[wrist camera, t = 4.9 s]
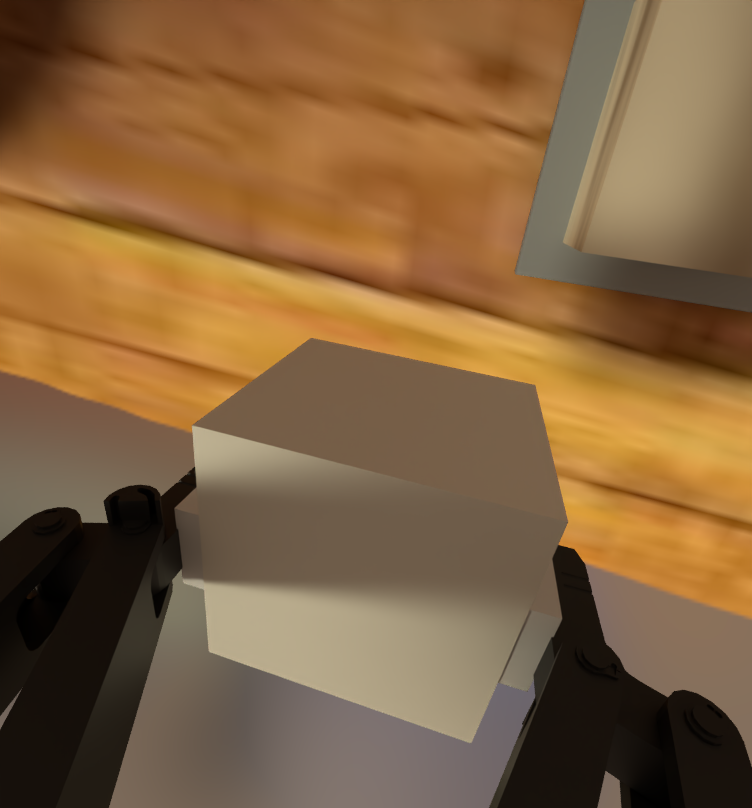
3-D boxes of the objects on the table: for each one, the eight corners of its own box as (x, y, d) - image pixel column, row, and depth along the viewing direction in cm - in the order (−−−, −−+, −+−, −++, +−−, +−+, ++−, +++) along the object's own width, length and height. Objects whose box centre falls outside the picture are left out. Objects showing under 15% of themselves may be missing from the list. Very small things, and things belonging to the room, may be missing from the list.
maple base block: (562, 242, 23) (581, 252, 18) (633, 2, 19) (687, -79, 13) (768, 272, 21) (857, 293, 16) (901, 15, 17) (1083, -72, 12)
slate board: (514, 271, 25) (515, 274, 24) (596, -46, 19) (602, -61, 18) (778, 313, 23) (791, 318, 22) (969, -35, 17) (1001, -51, 16)
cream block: (300, 507, 19) (208, 651, 13) (311, 337, 16) (192, 425, 9) (478, 557, 18) (471, 743, 12) (535, 385, 14) (567, 522, 8)
